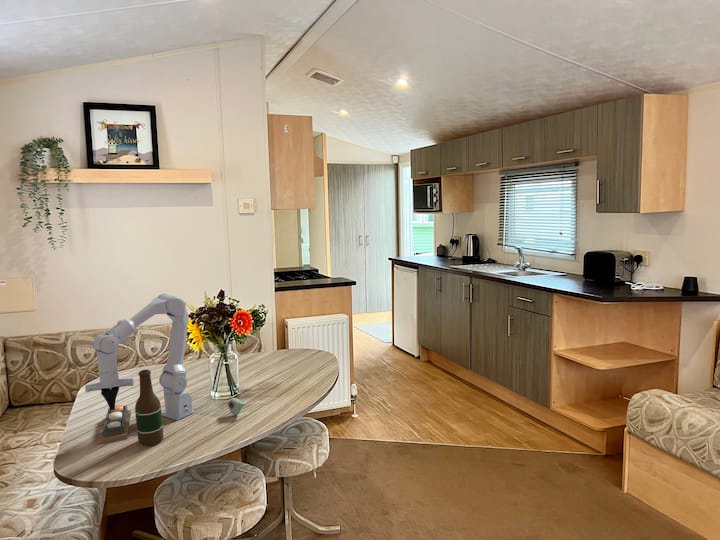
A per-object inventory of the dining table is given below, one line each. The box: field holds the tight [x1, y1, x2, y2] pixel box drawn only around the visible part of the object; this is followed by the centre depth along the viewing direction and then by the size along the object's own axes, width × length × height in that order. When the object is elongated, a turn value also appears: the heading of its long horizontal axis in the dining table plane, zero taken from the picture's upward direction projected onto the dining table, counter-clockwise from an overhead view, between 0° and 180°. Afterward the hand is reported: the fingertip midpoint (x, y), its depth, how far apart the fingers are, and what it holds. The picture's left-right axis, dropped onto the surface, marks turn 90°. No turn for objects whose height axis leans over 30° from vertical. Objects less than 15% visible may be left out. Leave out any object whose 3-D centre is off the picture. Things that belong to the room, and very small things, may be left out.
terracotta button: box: [111, 404, 124, 413], centre depth 194 cm, size 4×4×2 cm
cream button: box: [109, 412, 122, 421], centre depth 188 cm, size 4×4×2 cm
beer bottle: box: [134, 369, 164, 447], centre depth 176 cm, size 8×8×24 cm
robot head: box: [226, 397, 246, 416], centre depth 195 cm, size 8×4×7 cm, turn 62°
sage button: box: [107, 422, 121, 428], centre depth 182 cm, size 4×4×2 cm
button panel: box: [100, 404, 132, 444], centre depth 189 cm, size 22×8×4 cm, turn 20°
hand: (112, 409), depth 181 cm, fingers closed
